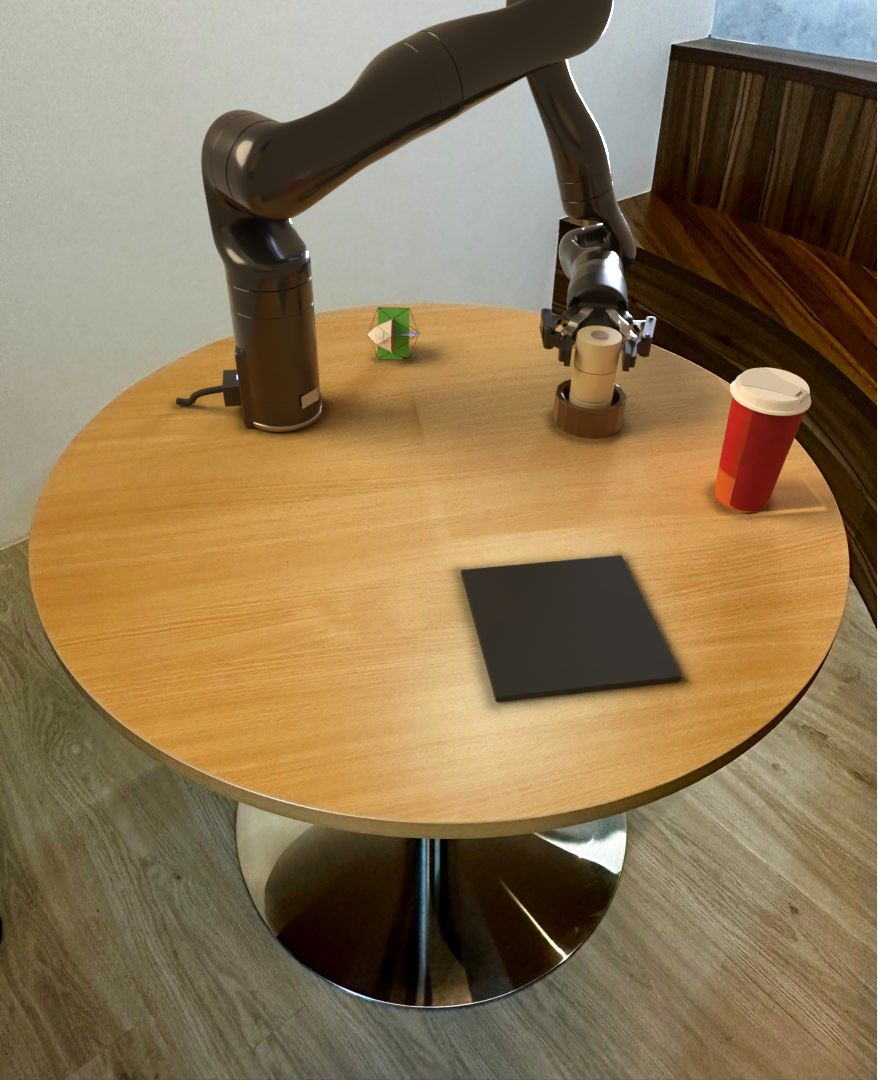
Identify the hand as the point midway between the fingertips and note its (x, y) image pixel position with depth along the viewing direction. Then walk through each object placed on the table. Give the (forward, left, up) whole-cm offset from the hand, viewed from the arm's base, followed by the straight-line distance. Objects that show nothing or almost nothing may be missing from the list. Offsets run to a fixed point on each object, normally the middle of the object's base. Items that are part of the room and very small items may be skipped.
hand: (597, 361), depth 99 cm
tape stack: (+1, +2, -9) cm, 9 cm away
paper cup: (+13, -15, -10) cm, 22 cm away
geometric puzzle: (-20, +22, -10) cm, 32 cm away
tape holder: (+1, +2, -10) cm, 10 cm away
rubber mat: (-11, -31, -10) cm, 34 cm away
